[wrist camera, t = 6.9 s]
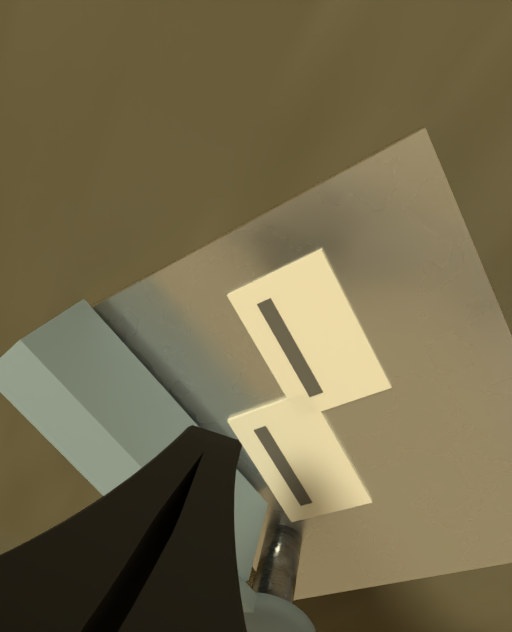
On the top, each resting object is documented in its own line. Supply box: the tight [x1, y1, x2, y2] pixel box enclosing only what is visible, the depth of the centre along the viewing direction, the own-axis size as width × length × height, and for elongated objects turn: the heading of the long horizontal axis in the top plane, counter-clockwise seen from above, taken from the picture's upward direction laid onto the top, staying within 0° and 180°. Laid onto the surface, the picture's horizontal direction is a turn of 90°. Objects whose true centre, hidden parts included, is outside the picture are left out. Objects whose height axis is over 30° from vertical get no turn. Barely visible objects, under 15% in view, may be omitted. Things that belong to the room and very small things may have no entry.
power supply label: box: [227, 249, 392, 411], centre depth 18 cm, size 6×4×1 cm, turn 29°
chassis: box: [91, 127, 512, 604], centre depth 18 cm, size 18×15×5 cm
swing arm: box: [0, 299, 316, 632], centre depth 18 cm, size 16×4×4 cm, turn 39°
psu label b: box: [227, 393, 372, 522], centre depth 20 cm, size 6×4×1 cm, turn 29°
